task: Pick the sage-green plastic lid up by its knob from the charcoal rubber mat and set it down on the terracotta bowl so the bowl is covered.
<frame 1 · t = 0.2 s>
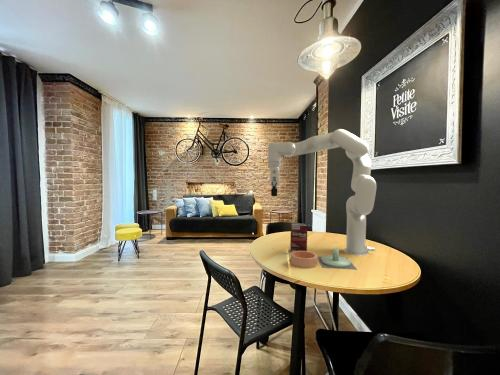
hand: (274, 195, 131), 31 cm above the table, fingers open, 9 cm apart
supplement box: (298, 253, 125), on the table
mat: (335, 264, 109), on the table
bowl: (303, 265, 108), on the table
lid: (335, 262, 109), point 1 cm above the table, touching mat
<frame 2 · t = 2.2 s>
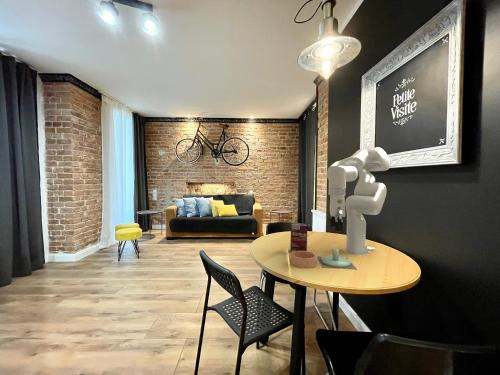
hand: (335, 228, 109), 17 cm above the table, fingers open, 9 cm apart
nothing on the table moved.
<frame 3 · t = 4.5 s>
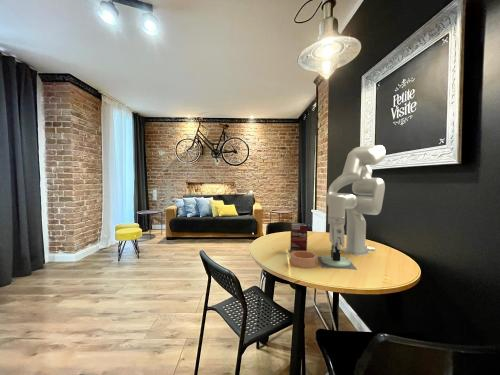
hand: (335, 258, 109), 3 cm above the table, fingers closed on lid, 2 cm apart
lid: (335, 262, 109), point 1 cm above the table, touching gripper, mat
everything else where it was.
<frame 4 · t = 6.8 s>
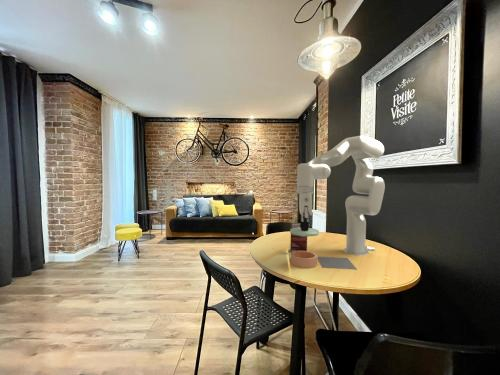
hand: (304, 229, 108), 17 cm above the table, fingers closed on lid, 2 cm apart
lid: (304, 232, 108), point 15 cm above the table, touching gripper
everything else where it was.
when the fingers open (8 cm above the table, at t = 8.9 s): lid drops 1 cm, resting on bowl.
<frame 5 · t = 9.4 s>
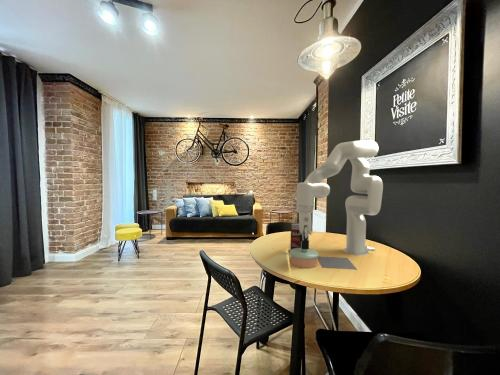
hand: (304, 246, 108), 9 cm above the table, fingers open, 8 cm apart
lid: (304, 254, 108), point 5 cm above the table, touching bowl
everything else where it was.
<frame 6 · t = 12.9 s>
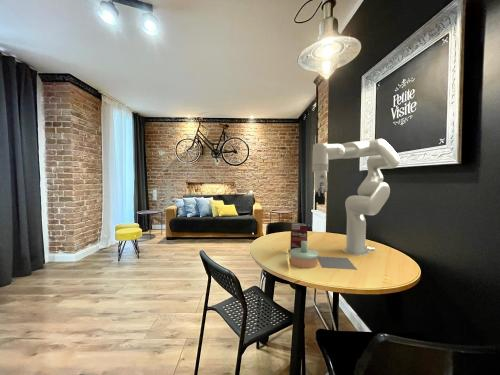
hand: (319, 203, 114), 28 cm above the table, fingers open, 9 cm apart
nothing on the table moved.
at the end: lid 0.1 cm off-centre on the bowl, point 5.0 cm above the bowl's base; lid tilted 0°; the gripper is holding nothing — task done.
